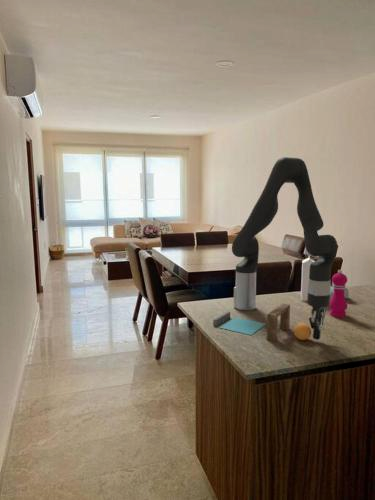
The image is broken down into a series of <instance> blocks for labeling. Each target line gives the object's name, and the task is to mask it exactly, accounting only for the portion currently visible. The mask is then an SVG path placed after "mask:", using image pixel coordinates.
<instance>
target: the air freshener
mask: <svg viewBox="0 0 375 500" xmlns="http://www.w3.org/2000/svg"><path fill="white" fill-rule="evenodd" d="M333 284H334V283H333V281H332V280H331V292H330V299H331V298H332V296H333V294H334V288H333ZM349 295H350V294H349V289H348V288H347V287H346V288H345V289H344V296H345V299H348V298H349Z"/></svg>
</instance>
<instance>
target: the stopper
mask: <svg viewBox="0 0 375 500" xmlns="http://www.w3.org/2000/svg"><path fill="white" fill-rule="evenodd" d="M230 318H231V312H230V311H227V312H225V313H223V314H221V315H219V316H217V317H215V318H214V319H213V320H212V321H213V322H212V323H213V325H215V326H214V327H217V326H219V325H221V324H222V323H224V322H226V321H227V320H228V319H230ZM225 320H226V321H225ZM223 321H224V322H223ZM220 323H221V324H220ZM218 324H219V325H218ZM216 325H217V326H216Z"/></svg>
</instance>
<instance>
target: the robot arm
mask: <svg viewBox="0 0 375 500" xmlns="http://www.w3.org/2000/svg"><path fill="white" fill-rule="evenodd" d="M308 171H309V170H308V167H307V165H306V162H305V161H304V160H303V159H302V158H298V157H280V158H278V159H277V160H276V162H275V163H274V165H273V167H272V169H271V172H270V174H269V176H268V179H267V181H266V183H265V186H264V188H263V190H262V191H261V194H260V195H259V197H258V199H257V201H256V202H255V205H254V206H253V208H252V209H251V212H250V214H249V216H248V218H247V219H246V221H245V223H244V225H243V226H242V227H241V229H240V230H239V232H238V233H237V235H236V236H235V238H234V239H233V242H232V244H231V251H232V254H233V256H235V257H237V258H243V259H242V261H240V262H238V263H237V264H236V265H235V286H234V287H233V308H236V309H237V310H239V311H253V310H255V309H256V305H257V303H256V300H257V298H256V297H257V267H258V265H259V252H260V246H259V240H258V238H257V237H256V235H258V234H259V233H260V232H262V231H263V230H265V229H266V228H267V227H268V226H270V224H271V223H272V222H273V220H274V219H275V217H276V215H277V213H278V212H279V211H278V210H279V200H278V194H279V192H280V190H281V188H282V187H283V186H284V184H287V183H289V184H294V186H295V188H296V189H297V192H298V193H297V194H298V198H297V206H296V212H297V215H298V216H297V217H298V219H299V222H300V223H301V226H302V229H303V239H304V248H305V250H306V251H307V254H308V255H309V256H312V257H318V258H317V260H314V261H315V262H313V263H311V264H310V271H309V283H308V297H307V301H306V303H307V304H308V305H309V306H311V307H312V309H311V310H310V315H311V316H310V317H309V318H308V321H309V325H310V329H311V330H312V329H313V330H312V338H313V339H314V340H319V341H320V339H321V336H322V335H321V333H322V331H321V330H322V328H323V326H324V322H325V317H326V314H327V313H326V312H327V310H326V308H327V307H330V306H329V305H330V300H331V298H330V292H331V286H332V282H331V279H332V277H331V272H332V266H333V264H334V261H335V258H336V255H337V252H338V242H337V239H336V238H335V236H334V235H331V234H322V235H320V234H319V233H318V231H320V230H322V229H323V227H324V221H323V218H322V216H321V213H320V210H319V209H318V206H317V203H316V200H315V197H314V194H313V189H312V185H311V184H312V183H311V181H310V176H309V175H310V174H309V172H308Z"/></svg>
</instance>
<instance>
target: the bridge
mask: <svg viewBox="0 0 375 500" xmlns="http://www.w3.org/2000/svg"><path fill="white" fill-rule="evenodd" d="M290 315H291V304H289V303H281V304H280V305H278V306H277V307H276V308H274V309H272V310H271V311H270V312H269V313H267V321H266V322H267V323H266V327H267V328H266V329H267V330H266V340H267V341H272V342H276V341H277V340H278V317H280V320H279V329H281V330H286V331H288V330H290V319H291V317H290Z"/></svg>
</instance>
